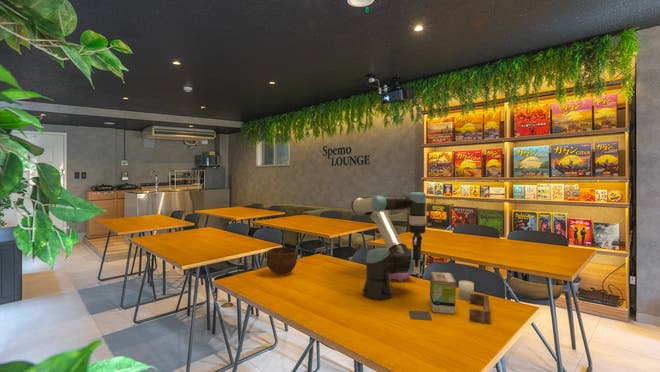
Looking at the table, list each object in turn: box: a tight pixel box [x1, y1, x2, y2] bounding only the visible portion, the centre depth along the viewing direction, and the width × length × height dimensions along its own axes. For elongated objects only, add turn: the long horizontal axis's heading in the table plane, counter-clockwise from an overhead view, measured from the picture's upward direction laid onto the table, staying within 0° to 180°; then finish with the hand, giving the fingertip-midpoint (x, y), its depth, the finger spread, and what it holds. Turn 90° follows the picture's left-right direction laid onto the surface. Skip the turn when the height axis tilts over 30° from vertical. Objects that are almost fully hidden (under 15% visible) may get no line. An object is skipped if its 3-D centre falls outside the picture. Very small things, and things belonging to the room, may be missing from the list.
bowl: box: [266, 246, 298, 275], centre depth 210 cm, size 19×19×15 cm
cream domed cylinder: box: [458, 280, 475, 302], centre depth 170 cm, size 7×7×8 cm
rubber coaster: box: [408, 309, 433, 321], centre depth 149 cm, size 9×9×1 cm
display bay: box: [468, 292, 491, 324], centre depth 153 cm, size 8×22×5 cm, turn 157°
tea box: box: [429, 271, 457, 315], centre depth 159 cm, size 15×10×15 cm, turn 168°
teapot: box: [389, 271, 414, 283], centre depth 201 cm, size 22×16×14 cm
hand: (416, 273), depth 163 cm, fingers closed
